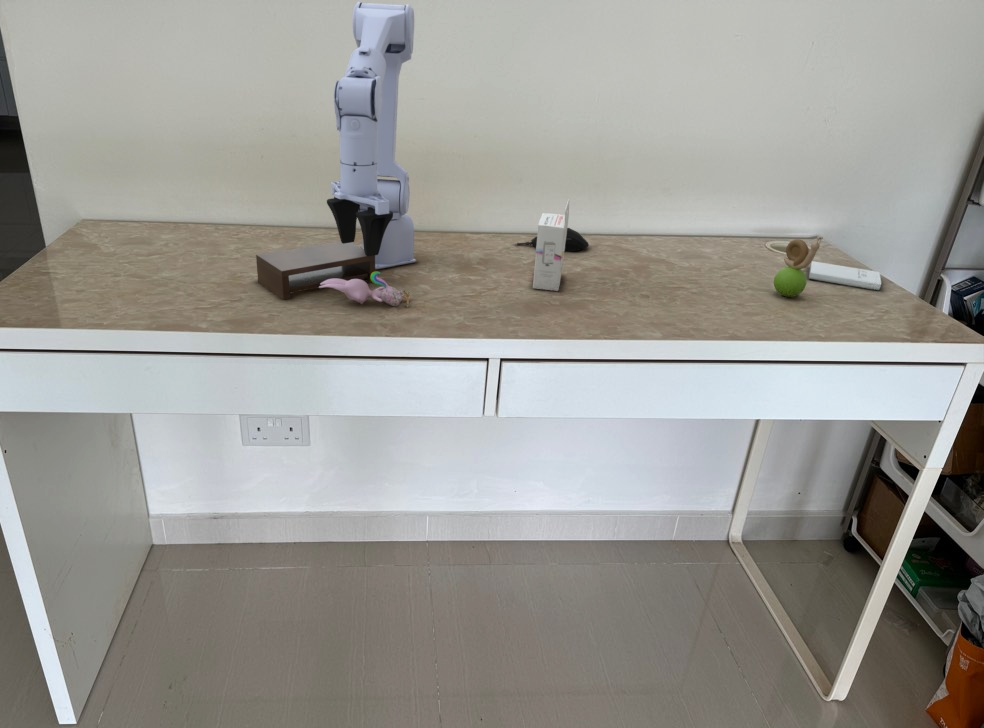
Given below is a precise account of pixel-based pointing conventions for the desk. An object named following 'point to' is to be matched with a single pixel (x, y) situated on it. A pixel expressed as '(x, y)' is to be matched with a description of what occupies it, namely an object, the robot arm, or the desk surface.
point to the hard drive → (845, 275)
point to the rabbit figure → (367, 290)
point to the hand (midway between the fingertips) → (359, 248)
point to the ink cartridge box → (550, 250)
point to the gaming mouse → (567, 241)
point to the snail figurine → (795, 268)
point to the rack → (312, 267)
